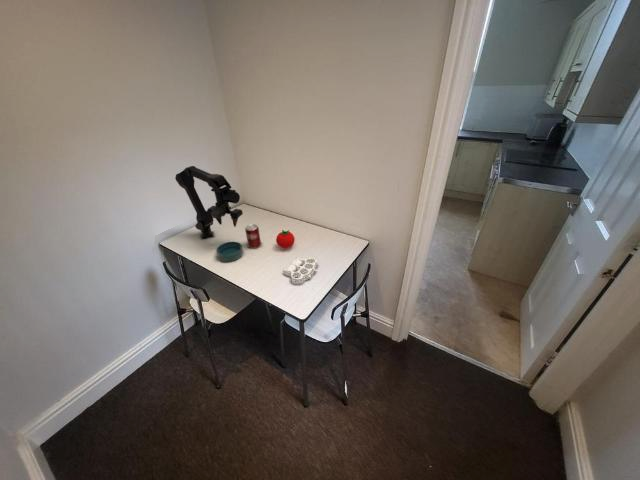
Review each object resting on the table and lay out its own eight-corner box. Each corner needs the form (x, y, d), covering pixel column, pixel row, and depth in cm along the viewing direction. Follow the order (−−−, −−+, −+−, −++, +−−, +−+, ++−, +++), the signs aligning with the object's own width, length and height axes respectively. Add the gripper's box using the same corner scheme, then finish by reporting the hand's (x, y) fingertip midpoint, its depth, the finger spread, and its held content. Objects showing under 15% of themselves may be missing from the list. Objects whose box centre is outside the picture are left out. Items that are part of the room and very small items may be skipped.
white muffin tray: (299, 258, 137) (323, 266, 131) (279, 277, 123) (304, 288, 117) (299, 253, 135) (323, 261, 129) (278, 272, 122) (304, 282, 116)
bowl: (213, 254, 140) (211, 248, 137) (235, 245, 147) (234, 238, 145) (225, 265, 132) (223, 258, 129) (247, 255, 139) (246, 248, 137)
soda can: (258, 249, 144) (255, 231, 137) (246, 248, 145) (242, 229, 139) (263, 242, 150) (260, 224, 143) (251, 241, 151) (248, 223, 145)
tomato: (273, 246, 146) (271, 231, 141) (286, 239, 152) (285, 225, 147) (285, 254, 140) (283, 238, 135) (298, 246, 146) (298, 231, 141)
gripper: (196, 203, 130) (204, 230, 138) (228, 208, 125) (234, 235, 134) (210, 195, 139) (217, 220, 147) (240, 199, 134) (245, 225, 143)
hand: (227, 225), depth 143 cm, fingers open, 9 cm apart
